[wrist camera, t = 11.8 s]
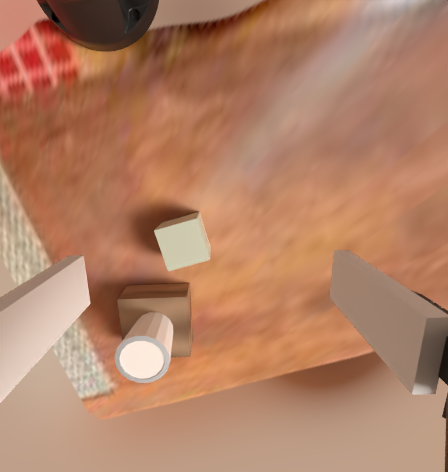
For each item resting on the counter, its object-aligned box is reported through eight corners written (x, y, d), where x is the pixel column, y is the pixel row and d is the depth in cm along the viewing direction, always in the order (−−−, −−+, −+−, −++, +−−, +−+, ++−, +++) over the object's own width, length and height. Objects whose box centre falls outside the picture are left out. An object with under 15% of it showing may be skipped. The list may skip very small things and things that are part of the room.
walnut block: (127, 285, 45) (117, 299, 40) (189, 283, 45) (186, 296, 40) (134, 339, 47) (124, 359, 42) (192, 337, 47) (190, 356, 42)
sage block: (162, 222, 42) (153, 230, 37) (199, 211, 42) (196, 218, 36) (174, 257, 44) (168, 271, 38) (210, 247, 44) (209, 259, 38)
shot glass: (121, 324, 41) (102, 355, 34) (157, 299, 40) (145, 326, 33) (151, 357, 42) (138, 393, 35) (186, 333, 41) (180, 365, 35)
